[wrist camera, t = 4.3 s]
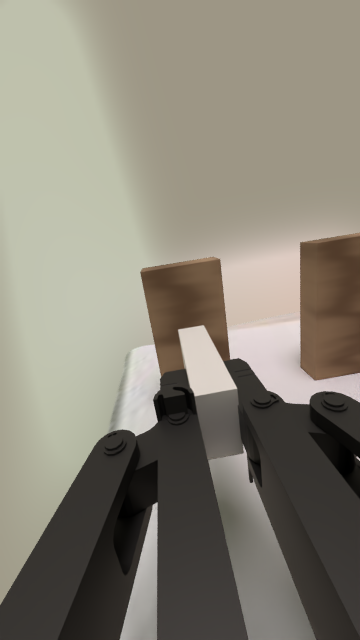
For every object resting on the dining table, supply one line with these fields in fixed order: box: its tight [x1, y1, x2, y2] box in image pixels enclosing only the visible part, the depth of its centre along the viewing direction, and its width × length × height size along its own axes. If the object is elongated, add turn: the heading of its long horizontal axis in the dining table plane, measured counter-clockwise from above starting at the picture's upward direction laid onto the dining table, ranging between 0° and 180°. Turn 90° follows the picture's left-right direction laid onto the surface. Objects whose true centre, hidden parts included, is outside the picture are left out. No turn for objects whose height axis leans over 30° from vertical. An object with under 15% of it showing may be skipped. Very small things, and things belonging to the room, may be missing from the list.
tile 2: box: [300, 233, 360, 380], centre depth 22 cm, size 6×3×12 cm, turn 94°
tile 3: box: [141, 257, 230, 377], centre depth 22 cm, size 6×3×12 cm, turn 94°
